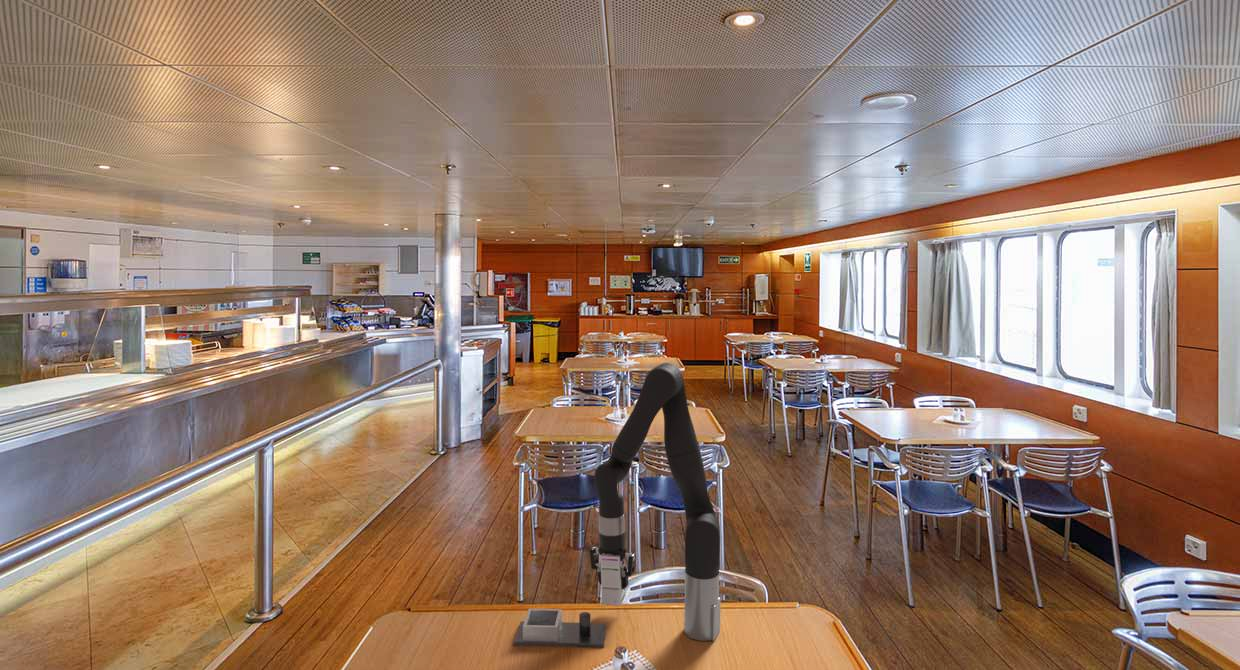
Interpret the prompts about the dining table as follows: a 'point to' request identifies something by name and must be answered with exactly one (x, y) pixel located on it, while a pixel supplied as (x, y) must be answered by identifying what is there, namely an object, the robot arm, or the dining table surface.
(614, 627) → the dining table surface
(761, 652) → the dining table surface
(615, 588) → the syrup box
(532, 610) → the bolt plate
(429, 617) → the dining table surface
